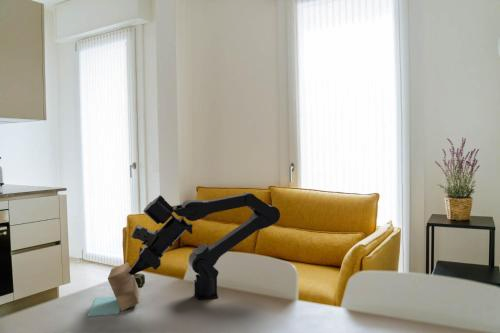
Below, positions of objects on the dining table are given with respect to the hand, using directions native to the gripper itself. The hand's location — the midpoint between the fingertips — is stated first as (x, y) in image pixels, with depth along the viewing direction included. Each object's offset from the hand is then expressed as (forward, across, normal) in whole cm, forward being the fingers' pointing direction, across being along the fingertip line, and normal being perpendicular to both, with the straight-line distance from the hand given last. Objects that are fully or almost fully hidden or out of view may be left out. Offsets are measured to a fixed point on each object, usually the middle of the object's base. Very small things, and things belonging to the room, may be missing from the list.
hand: (130, 273), depth 118 cm
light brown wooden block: (+6, 0, +6) cm, 8 cm away
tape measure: (+7, -18, +6) cm, 20 cm away
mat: (+11, 0, +2) cm, 11 cm away
